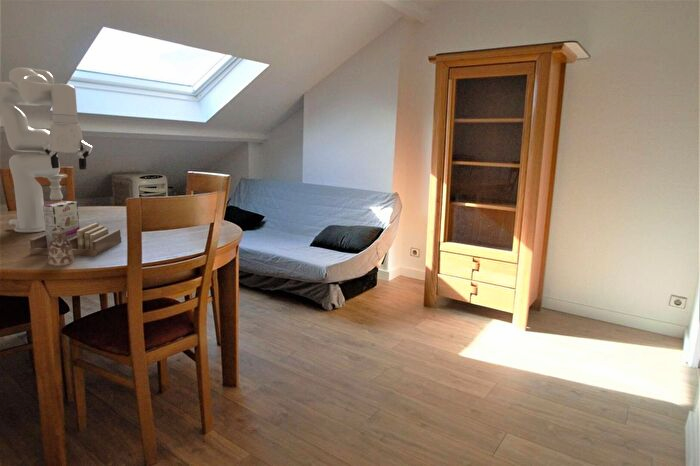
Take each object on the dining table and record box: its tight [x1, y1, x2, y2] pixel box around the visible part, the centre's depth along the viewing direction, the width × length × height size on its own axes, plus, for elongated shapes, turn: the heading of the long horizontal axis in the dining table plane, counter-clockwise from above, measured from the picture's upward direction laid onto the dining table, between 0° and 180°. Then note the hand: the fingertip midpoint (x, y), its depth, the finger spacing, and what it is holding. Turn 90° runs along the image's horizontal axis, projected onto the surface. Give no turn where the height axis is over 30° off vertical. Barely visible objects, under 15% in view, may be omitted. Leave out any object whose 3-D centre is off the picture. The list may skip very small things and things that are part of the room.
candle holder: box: [43, 173, 68, 204], centre depth 225 cm, size 12×12×20 cm
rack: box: [29, 228, 122, 257], centre depth 172 cm, size 22×22×5 cm
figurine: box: [47, 226, 75, 267], centre depth 152 cm, size 7×7×12 cm
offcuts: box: [77, 222, 109, 250], centre depth 172 cm, size 5×14×8 cm, turn 5°
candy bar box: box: [43, 200, 81, 248], centre depth 171 cm, size 11×5×16 cm, turn 168°
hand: (69, 168), depth 169 cm, fingers open, 9 cm apart
